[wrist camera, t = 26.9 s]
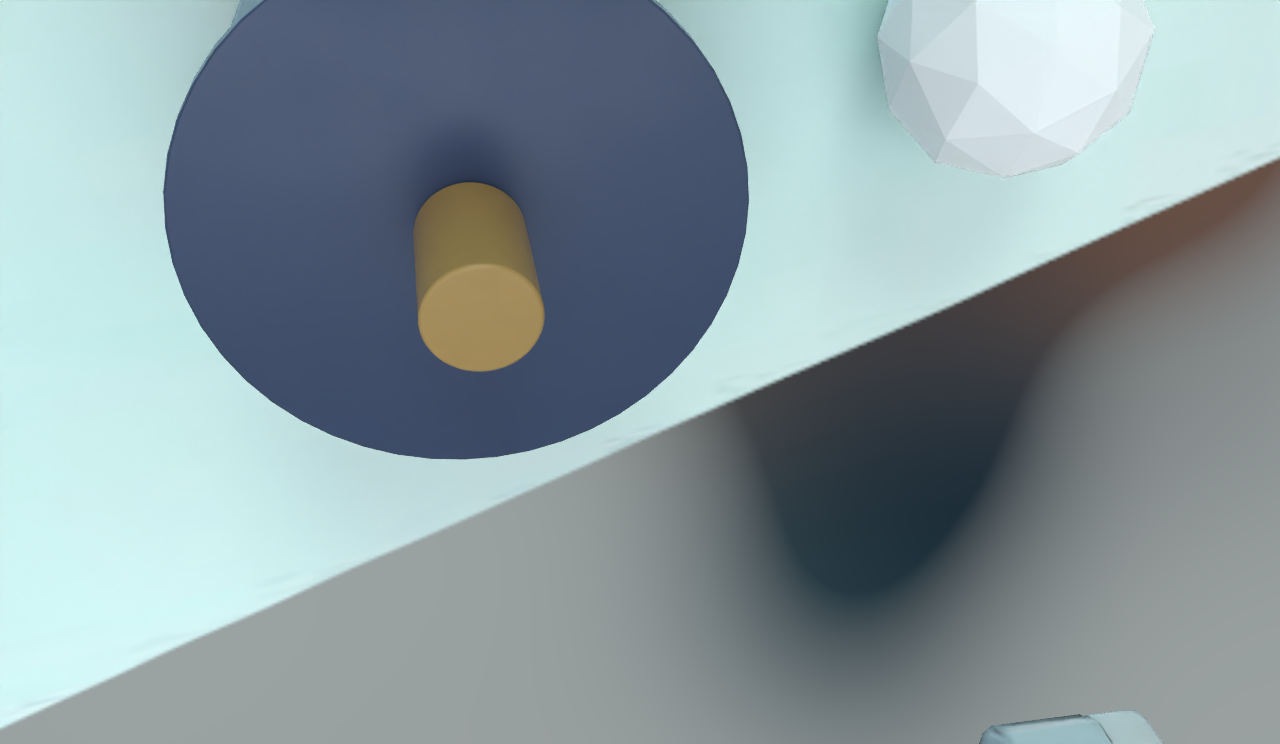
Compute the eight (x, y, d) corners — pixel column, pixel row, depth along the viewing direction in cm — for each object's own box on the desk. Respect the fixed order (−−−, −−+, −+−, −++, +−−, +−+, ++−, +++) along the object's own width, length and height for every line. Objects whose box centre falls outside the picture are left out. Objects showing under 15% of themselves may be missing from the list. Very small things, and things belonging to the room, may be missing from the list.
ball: (970, 17, 42) (1089, 203, 39) (789, 42, 38) (908, 250, 36) (1112, -161, 35) (1264, 48, 33) (911, -151, 32) (1066, 85, 29)
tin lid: (653, -171, 24) (709, -119, 20) (788, 335, 32) (849, 449, 28) (48, 48, 25) (-20, 144, 21) (326, 499, 32) (319, 635, 28)
